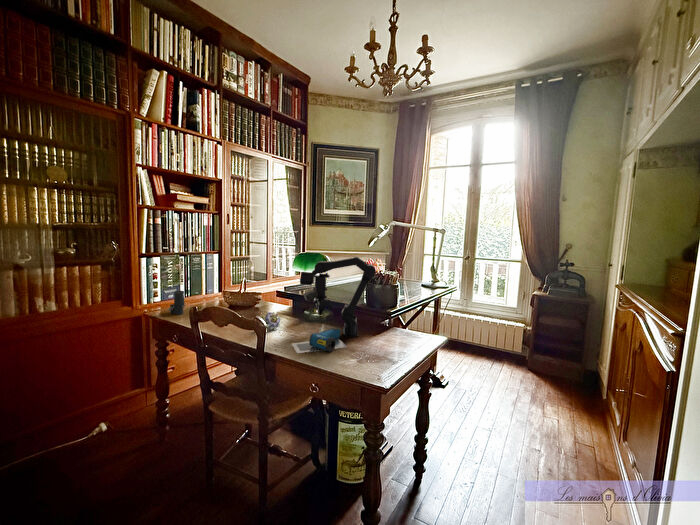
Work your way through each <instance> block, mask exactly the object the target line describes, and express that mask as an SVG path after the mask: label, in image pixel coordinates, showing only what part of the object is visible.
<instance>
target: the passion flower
mask: <svg viewBox="0 0 700 525" xmlns="http://www.w3.org/2000/svg"><path fill="white" fill-rule="evenodd" d="M261 318H262V319H263V320H264V321H265V322H266V324H267V327H266V328H269V330H270V331H272V330H273V331H274V332H276V331H277V327H278V328H280V327H281V321H282V318H280V315H279V314H277V313H275V311H272V312H270V311H269V310H266V314H265V315H261V316H260V319H261Z"/></svg>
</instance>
